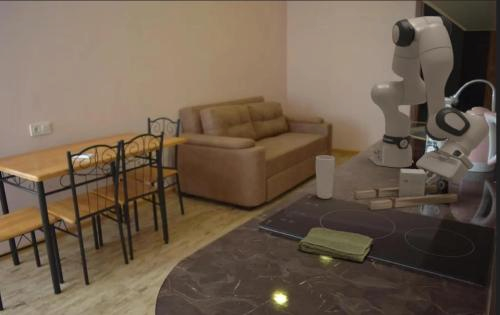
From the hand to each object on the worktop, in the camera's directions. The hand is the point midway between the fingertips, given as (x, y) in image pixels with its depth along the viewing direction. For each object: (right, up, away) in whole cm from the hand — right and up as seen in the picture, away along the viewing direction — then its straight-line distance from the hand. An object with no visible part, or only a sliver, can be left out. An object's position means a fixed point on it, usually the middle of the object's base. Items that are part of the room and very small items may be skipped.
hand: (424, 183), depth 141 cm
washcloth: (-39, -15, -35) cm, 54 cm away
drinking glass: (-35, -5, +5) cm, 36 cm away
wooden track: (-7, -6, 0) cm, 9 cm away
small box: (-5, -6, 0) cm, 8 cm away
